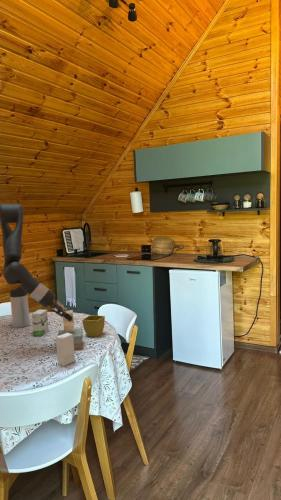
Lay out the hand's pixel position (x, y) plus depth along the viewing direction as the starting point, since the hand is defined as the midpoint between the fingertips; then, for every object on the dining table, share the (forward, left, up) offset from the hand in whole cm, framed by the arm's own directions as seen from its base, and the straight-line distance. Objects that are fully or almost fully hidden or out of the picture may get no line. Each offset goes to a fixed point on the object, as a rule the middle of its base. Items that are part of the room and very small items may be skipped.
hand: (71, 318), depth 176 cm
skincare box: (+19, -3, -14) cm, 24 cm away
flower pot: (-12, +11, -14) cm, 21 cm away
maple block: (0, -1, -5) cm, 5 cm away
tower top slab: (0, -1, -11) cm, 11 cm away
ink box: (-24, -16, -14) cm, 32 cm away
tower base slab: (0, -1, -14) cm, 14 cm away
